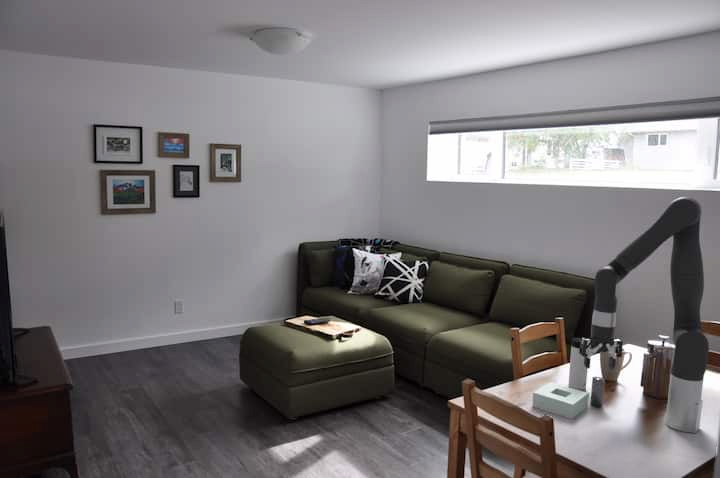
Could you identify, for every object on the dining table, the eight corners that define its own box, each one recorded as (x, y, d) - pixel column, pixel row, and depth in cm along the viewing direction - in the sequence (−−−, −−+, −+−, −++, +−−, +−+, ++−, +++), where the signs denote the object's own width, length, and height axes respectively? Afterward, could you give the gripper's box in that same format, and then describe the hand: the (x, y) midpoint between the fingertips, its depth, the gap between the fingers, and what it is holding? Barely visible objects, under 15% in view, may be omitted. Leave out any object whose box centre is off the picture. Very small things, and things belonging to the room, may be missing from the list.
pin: (604, 406, 197) (606, 378, 196) (600, 409, 194) (602, 381, 193) (592, 402, 200) (594, 375, 198) (588, 405, 197) (590, 378, 195)
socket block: (587, 406, 196) (588, 393, 195) (571, 418, 186) (573, 404, 185) (549, 395, 205) (550, 382, 205) (532, 406, 195) (533, 392, 194)
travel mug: (589, 392, 209) (593, 340, 207) (571, 391, 209) (575, 340, 207) (582, 385, 215) (587, 335, 213) (565, 385, 215) (569, 335, 213)
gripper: (618, 320, 197) (613, 364, 199) (578, 319, 196) (574, 363, 198) (629, 326, 190) (624, 372, 192) (588, 325, 189) (583, 371, 191)
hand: (598, 367), depth 195 cm, fingers open, 8 cm apart
